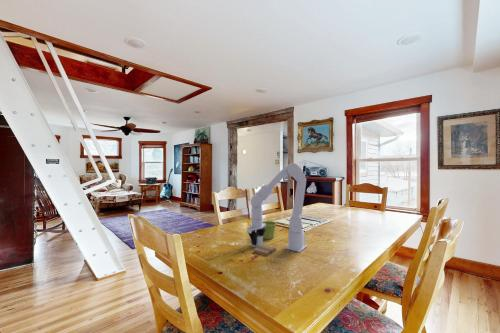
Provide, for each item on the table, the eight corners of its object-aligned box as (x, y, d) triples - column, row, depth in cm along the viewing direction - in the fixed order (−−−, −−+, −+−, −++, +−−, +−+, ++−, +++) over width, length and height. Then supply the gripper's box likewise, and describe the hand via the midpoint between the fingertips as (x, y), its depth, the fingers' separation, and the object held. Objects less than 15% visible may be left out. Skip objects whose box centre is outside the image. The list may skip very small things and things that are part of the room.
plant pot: (274, 241, 129) (274, 225, 129) (258, 239, 132) (258, 224, 132) (278, 236, 138) (278, 221, 138) (262, 234, 141) (262, 220, 141)
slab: (262, 248, 120) (262, 244, 119) (275, 251, 115) (275, 247, 115) (253, 253, 113) (253, 249, 113) (267, 257, 108) (267, 253, 108)
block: (255, 243, 125) (255, 234, 125) (262, 245, 122) (262, 236, 122) (250, 246, 121) (250, 236, 121) (258, 248, 118) (258, 238, 118)
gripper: (258, 214, 130) (258, 238, 130) (242, 219, 118) (242, 245, 118) (268, 216, 125) (268, 240, 126) (253, 221, 114) (253, 248, 114)
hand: (256, 243), depth 122 cm, fingers closed on block, 5 cm apart
